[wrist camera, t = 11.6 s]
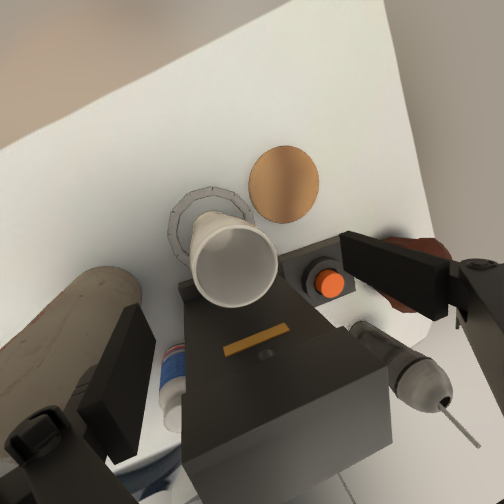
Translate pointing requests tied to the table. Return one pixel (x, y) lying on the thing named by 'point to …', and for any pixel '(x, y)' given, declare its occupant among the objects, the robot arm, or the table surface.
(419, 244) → the muffin
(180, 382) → the pill bottle
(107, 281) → the thermos bottle
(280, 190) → the disc
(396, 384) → the beverage cup
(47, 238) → the table surface
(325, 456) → the coffee maker
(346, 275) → the power switch
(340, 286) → the power button
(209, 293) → the drinking glass
